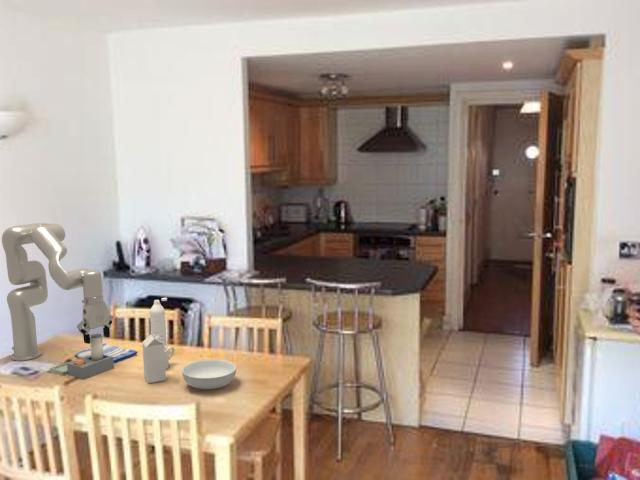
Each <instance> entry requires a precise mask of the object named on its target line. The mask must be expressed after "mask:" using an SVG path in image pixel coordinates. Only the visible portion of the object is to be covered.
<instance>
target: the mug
mask: <svg viewBox="0 0 640 480" xmlns="http://www.w3.org/2000/svg"><path fill="white" fill-rule="evenodd" d="M166 346H167V345H166ZM166 346H164V351H165V371H166V370H167V369H169V367H170V363H169V361H170V359H171V358H172V357H173V355H174V353H175V348H174V347H173V346H171V345H170V346H168V347H166ZM170 349H171V353H170V355H169V352H170V351H169V350H170Z"/></svg>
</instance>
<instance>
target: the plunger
mask: <svg viewBox="0 0 640 480" xmlns="http://www.w3.org/2000/svg"><path fill="white" fill-rule="evenodd" d="M75 361H76V365H77V366H80V365H83V364H84V359H81V358H77V359H76V360H75Z"/></svg>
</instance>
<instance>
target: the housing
mask: <svg viewBox="0 0 640 480" xmlns="http://www.w3.org/2000/svg"><path fill="white" fill-rule="evenodd" d="M103 357H104V359H101V360H98V361H93V360H91V355H90V356H87V357H84V358H82V359H84V364H83V365H80V366H77V365H76V360H73V361H69V362H70V363H67V362H66V363H67V370H68V375H67V376H70V377H73V376H74V377H73V378H76V377H77V378H76V379H80V380H87V379H88V378H89V379H90V378H91V377H94V376H97V375H99V374H102V373H104V372H108V371H110V370H113V369H114V368H115V366H114V365H115V364H114V363H113V357H111V356H108V355H104V354H103Z"/></svg>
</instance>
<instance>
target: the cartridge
mask: <svg viewBox="0 0 640 480" xmlns="http://www.w3.org/2000/svg"><path fill="white" fill-rule="evenodd" d="M103 344H104V342H103V336H102V334H101V333H93V334H91V335H90V348H91V360H93V361H98V360H101V359H104V357H103Z"/></svg>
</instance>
